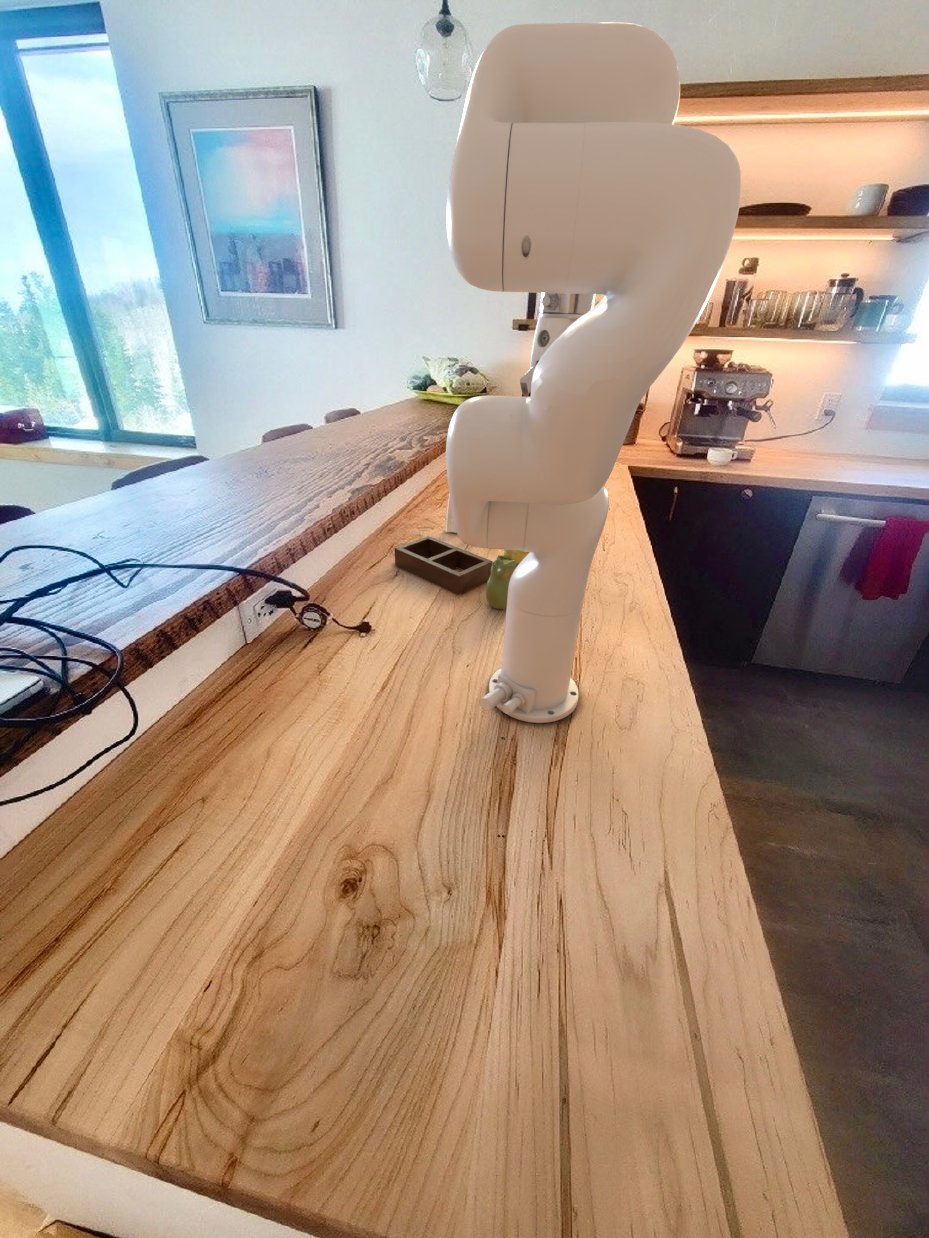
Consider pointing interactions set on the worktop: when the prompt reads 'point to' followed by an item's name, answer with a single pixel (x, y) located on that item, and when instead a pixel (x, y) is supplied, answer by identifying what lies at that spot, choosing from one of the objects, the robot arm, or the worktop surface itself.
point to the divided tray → (443, 564)
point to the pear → (499, 581)
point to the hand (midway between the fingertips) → (551, 434)
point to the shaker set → (450, 518)
